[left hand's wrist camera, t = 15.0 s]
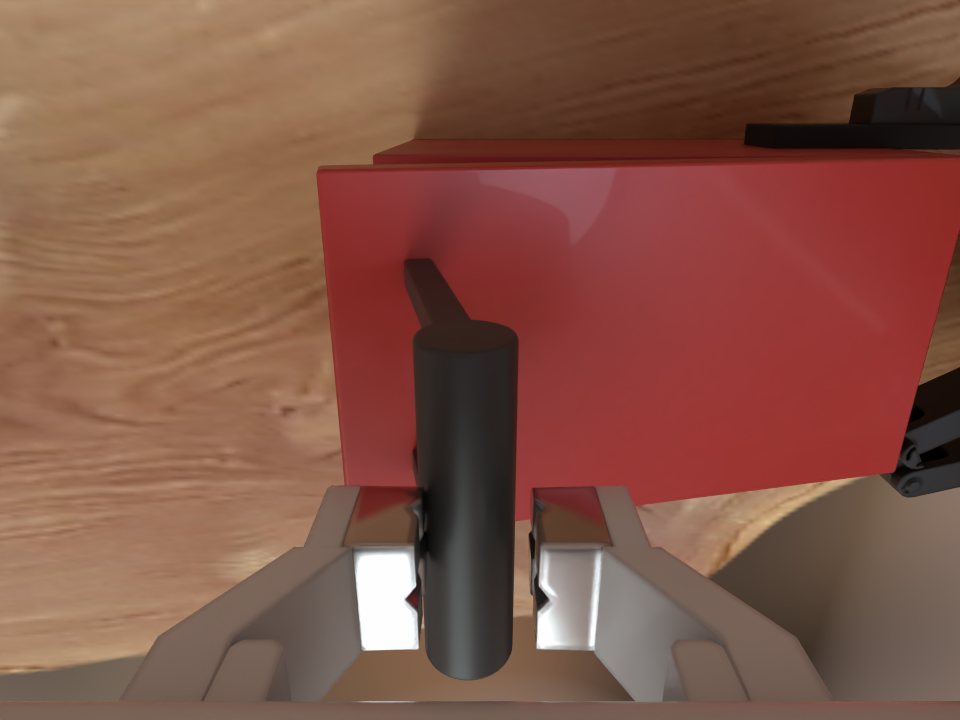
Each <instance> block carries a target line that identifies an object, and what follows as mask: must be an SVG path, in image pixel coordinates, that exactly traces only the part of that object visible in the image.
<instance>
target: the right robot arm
mask: <svg viewBox="0 0 960 720" xmlns="http://www.w3.org/2000/svg"><path fill="white" fill-rule="evenodd" d="M744 145H751V146H758V147H765V148H772V149H960V77H959V78H958V79H957V80H956V81H955V82H954V83H952V84H951V85H949V86H947V87H925V88H922V87H913V88H910V87H906V88H875V89H868V90H866V91H863V92H861V93H858V94H856V95H854V100H853V105H852V110H851V116H850V121H849V124H747V125H746V132H745V139H744ZM879 475H881V476H882V477H883V478H884V479H885V480H886V481H887V482H888V483H889V484H890V485H891V486H892V487H893V488H894V489H896V490H897V491H898V492H899V493H900V494H901V495H902V496H905V497H916V496H921V495H925V494H930V493H934V492H939V491H944V490H948V489H952V488H957V487H960V367H959V368H957V369H955V370H953V371H950V372H948V373H946V374H944V375H942V376H939V377H937V378H935V379H933V380H930V381H928V382H926V383H924V384H922V385H919V386H918V388H917V392H916V395H915V399H914V403H913V406H912V410H911V414H910V418H909V421H908V425H907V429H906V432H905V436H904V440H903V444H902V447H901V451H900V455H899V459H898V462H897V466H896V470H895V471H894V472H892V473H884V474H879Z"/></svg>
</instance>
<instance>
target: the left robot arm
mask: <svg viewBox="0 0 960 720" xmlns="http://www.w3.org/2000/svg"><path fill="white" fill-rule="evenodd" d="M425 516H426V501H425V489H424V487H410V486H361V485H335V486H331V487H329V488H328V489H327V491H326V493H325V495H324V498H323V500H322V503H321V505H320V508H319V510H318V513H317V515H316V518H315V520H314V523H313V525H312V527H311V530H310V532H309V535H308V537H307V540H306V542H305V545H304V547H294V548H292V549H291V550H289V551H288V552H286V553H285V554H283V555H282V556H280V557H279V558H277V559H275V560H274V561H272V562H271V563H269V564H268V565H266V566H265V567H263V568H262V569H260V570H259V571H257V572H256V573H254V574H253V575H251V576H250V577H248V578H247V579H245V580H243V581H242V582H240V583H239V584H237V585H236V586H234V587H233V588H231V589H230V590H228V591H227V592H225V593H224V594H222V595H221V596H219V597H218V598H216V599H215V600H213V601H211V602H210V603H208V604H207V605H205V606H204V607H202V608H201V609H199V610H198V611H196V612H195V613H193V614H192V615H190V616H189V617H187V618H186V619H184V620H183V621H181V622H179V623H178V624H176V625H175V626H173V627H172V628H170V629H169V630H167V631H166V632H164V633H163V634H161V635H160V636H158V637H157V639H156V641H155V642H154V644H153V645H152V647H151V649H150V650H149V652H148V654H147V655H146V657H145V658H144V660H143V662H142V663H141V665H140V667H139V668H138V670H137V672H136V673H135V675H134V676H133V678H132V680H131V681H130V683H129V684H128V686H127V688H126V689H125V691H124V693H123V694H122V696H121V697H120V699H119V701H0V720H960V701H834V700H833V698H832V696H831V695H830V693H829V691H828V690H827V688H826V686H825V684H824V683H823V681H822V679H821V678H820V676H819V675H818V673H817V671H816V669H815V668H814V666H813V664H812V663H811V661H810V660H809V658H808V656H807V655H806V653H805V651H804V649H803V648H802V646H801V644H800V643H799V641H798V639H797V638H796V637H795V636H793V635H792V634H790V633H789V632H787V631H786V630H784V629H783V628H781V627H780V626H778V625H777V624H775V623H774V622H772V621H771V620H769V619H768V618H766V617H765V616H763V615H762V614H760V613H759V612H757V611H756V610H754V609H753V608H751V607H750V606H748V605H747V604H745V603H744V602H742V601H741V600H739V599H738V598H736V597H735V596H733V595H732V594H730V593H729V592H727V591H726V590H724V589H723V588H721V587H720V586H718V585H717V584H715V583H714V582H712V581H711V580H709V579H708V578H706V577H705V576H703V575H702V574H700V573H699V572H697V571H696V570H694V569H693V568H691V567H690V566H688V565H687V564H685V563H684V562H682V561H681V560H679V559H678V558H676V557H675V556H673V555H672V554H670V553H668V552H667V551H665V550H664V549H662V548H661V547H651V545H650V543H649V540H648V538H647V535H646V533H645V530H644V528H643V525H642V523H641V520H640V518H639V515H638V513H637V510H636V508H635V505H634V503H633V500H632V498H631V495H630V493H629V490H628V488H627V487H626V486H624V485H608V486H581V487H541V488H531V493H530V519H531V528H532V531H531V532H530V533H529V582H530V593H531V595H532V596H533V621H534V630H535V638H536V647H537V649H557V650H593V651H594V654H595V655H596V656H597V657H598V658H599V659H600V661H601V662H602V663H603V664H604V665H605V666H606V668H607V669H608V670H609V671H610V672H611V673H612V674H613V676H614V677H615V678H616V679H617V680H618V681H619V683H620V684H621V685H622V686H623V687H624V688H625V690H626V691H627V692H628V693H629V694H630V695H631V696H632V698H633V699H634V700H635V701H432V702H431V701H425V702H424V701H418V702H417V701H407V702H405V701H401V702H400V701H320V700H321V699H322V698H323V697H324V695H325V694H326V693H327V692H328V691H329V690H330V689H331V687H332V686H333V685H334V684H335V683H336V682H337V681H338V679H339V678H340V677H341V676H342V675H343V674H344V673H345V671H346V670H347V669H348V668H349V667H350V666H351V664H352V663H353V662H354V661H355V660H356V659H357V658H358V657H359V655H360V654H361V650H396V649H418V648H419V641H420V633H421V624H422V616H423V612H422V596H423V595H424V594H425V589H426V578H427V534H426V532H425V531H424V524H425Z"/></svg>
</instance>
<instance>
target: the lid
mask: <svg viewBox="0 0 960 720" xmlns="http://www.w3.org/2000/svg"><path fill="white" fill-rule="evenodd" d="M317 185H318V196H319V207H320V218H321V229H322V240H323V251H324V262H325V273H326V284H327V295H328V306H329V317H330V328H331V339H332V350H333V361H334V372H335V383H336V394H337V405H338V416H339V427H340V438H341V449H342V460H343V471H344V482H345V485H361V486H410V487H424V489H425V501H426V516H425V524H424V531H425V532H426V534H427V578H426V589H425V594H424V595H423V602H424V626H425V647H426V653H427V656H428V658H429V660H430V661H431V663H432V665H433V666H434V667H435V668H436V669H437V670H438V671H440V672H441V673H443V674H444V675H446V676H449V677H452V678H454V679H459V680H478V679H482V678H485V677H488V676H490V675H492V674H494V673H495V672H497V671H498V670H499V669H501V668H502V667H503V666H504V664H505V663H506V662H507V660H508V658H509V656H510V654H511V651H512V635H513V590H514V543H515V521H520V520H528V519H530V493H531V488H541V487H581V486H608V485H624V486H626V487H627V488H628V490H629V493H630V495H631V498H632V500H633V503H634V505H635V506H637V505H644V504H652V503H660V502H668V501H675V500H683V499H691V498H699V497H706V496H714V495H722V494H730V493H737V492H745V491H753V490H761V489H768V488H776V487H784V486H792V485H799V484H807V483H815V482H823V481H830V480H838V479H846V478H854V477H861V476H869V475H876V474H884V473H892V472H894V471H895V470H896V466H897V462H898V459H899V455H900V451H901V447H902V444H903V440H904V436H905V432H906V429H907V425H908V421H909V418H910V414H911V410H912V406H913V403H914V399H915V395H916V392H917V388H918V384H919V380H920V377H921V373H922V369H923V366H924V362H925V358H926V354H927V351H928V347H929V343H930V339H931V336H932V332H933V328H934V325H935V321H936V317H937V313H938V310H939V306H940V302H941V299H942V295H943V291H944V287H945V284H946V280H947V276H948V273H949V269H950V265H951V261H952V258H953V254H954V250H955V246H956V243H957V239H958V235H959V232H960V156H959V155H945V154H937V155H882V156H827V157H772V158H716V159H661V160H606V161H551V162H496V163H441V164H386V165H330V166H320V167H318V170H317Z"/></svg>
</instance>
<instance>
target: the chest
mask: <svg viewBox="0 0 960 720" xmlns="http://www.w3.org/2000/svg"><path fill="white" fill-rule="evenodd" d="M937 154H939V153H929V152H918V151H908V150H898V149H772V148H765V147H758V146H751V145H744V139H414V140H411V141H409V142H406V143H404V144H401V145H398V146H396V147H393V148H390V149H388V150H385V151H383V152H380V153H377V154H375V155H373V165H386V164H441V163H496V162H551V161H606V160H661V159H716V158H772V157H827V156H882V155H937Z"/></svg>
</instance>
